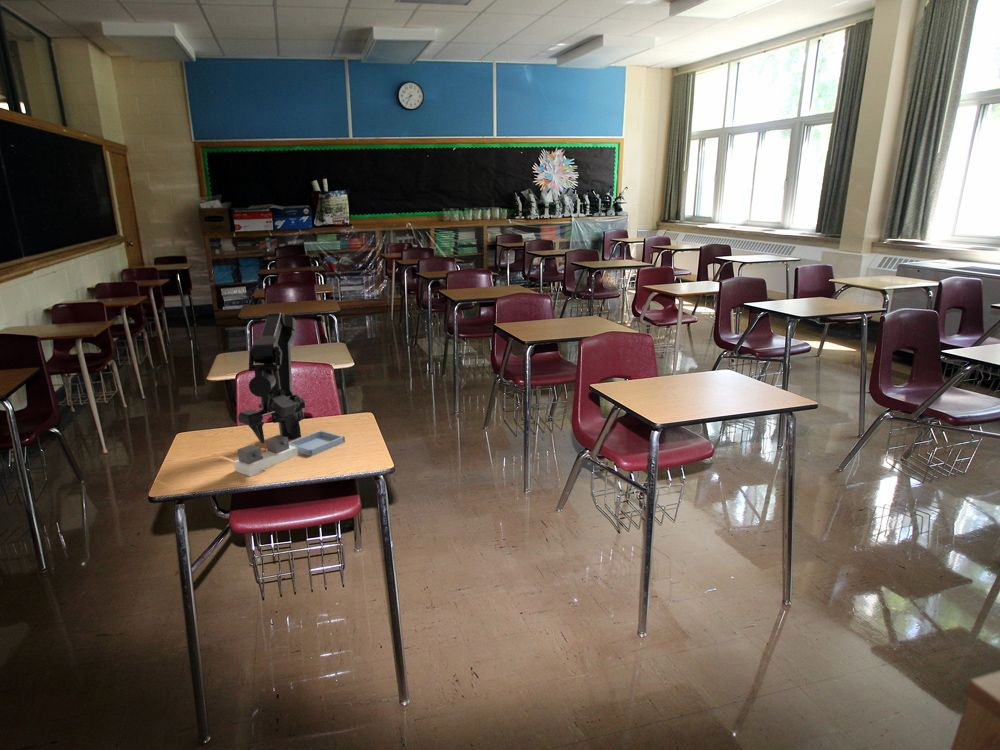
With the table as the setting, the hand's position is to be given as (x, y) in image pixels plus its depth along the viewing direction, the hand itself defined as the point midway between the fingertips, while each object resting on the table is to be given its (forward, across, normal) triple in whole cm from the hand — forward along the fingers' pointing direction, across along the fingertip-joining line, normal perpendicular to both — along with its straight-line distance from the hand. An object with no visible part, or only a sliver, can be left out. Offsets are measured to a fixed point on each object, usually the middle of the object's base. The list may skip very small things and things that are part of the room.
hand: (276, 438), depth 181 cm
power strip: (+7, -4, -1) cm, 8 cm away
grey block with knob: (+6, 0, 0) cm, 6 cm away
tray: (+7, +12, -2) cm, 14 cm away
